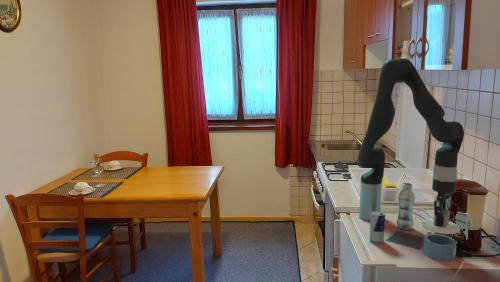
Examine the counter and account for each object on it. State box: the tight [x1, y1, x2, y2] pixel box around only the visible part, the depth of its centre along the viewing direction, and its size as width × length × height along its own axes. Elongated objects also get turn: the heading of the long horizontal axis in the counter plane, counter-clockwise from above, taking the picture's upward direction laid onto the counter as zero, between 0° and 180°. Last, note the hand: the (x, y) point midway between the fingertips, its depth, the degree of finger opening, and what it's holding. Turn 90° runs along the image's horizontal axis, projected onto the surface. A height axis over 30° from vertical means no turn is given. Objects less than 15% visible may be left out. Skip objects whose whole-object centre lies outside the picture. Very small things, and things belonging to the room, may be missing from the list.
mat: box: [385, 230, 425, 250], centre depth 152 cm, size 13×13×1 cm
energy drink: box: [368, 210, 386, 245], centre depth 150 cm, size 5×5×12 cm
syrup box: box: [455, 212, 470, 240], centre depth 146 cm, size 6×6×14 cm
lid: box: [422, 210, 460, 235], centre depth 137 cm, size 12×12×6 cm
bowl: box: [422, 233, 457, 262], centre depth 139 cm, size 10×10×6 cm
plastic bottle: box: [396, 182, 416, 231], centre depth 162 cm, size 6×7×20 cm
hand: (441, 224), depth 138 cm, fingers closed on lid, 4 cm apart
